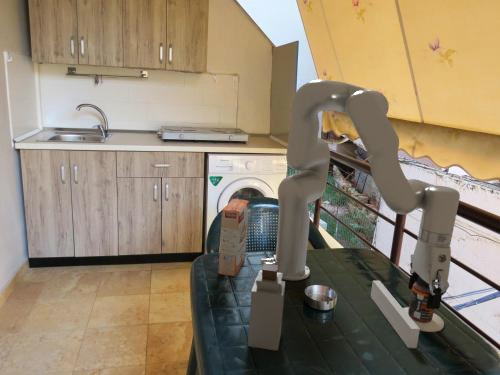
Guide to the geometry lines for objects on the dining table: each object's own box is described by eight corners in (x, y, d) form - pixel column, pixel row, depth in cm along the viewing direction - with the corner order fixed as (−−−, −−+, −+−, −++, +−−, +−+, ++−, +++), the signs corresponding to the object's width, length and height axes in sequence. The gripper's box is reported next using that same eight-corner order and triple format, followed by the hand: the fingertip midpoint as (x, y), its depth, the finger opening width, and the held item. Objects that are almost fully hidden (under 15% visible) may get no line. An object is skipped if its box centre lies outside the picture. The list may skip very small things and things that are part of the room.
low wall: (408, 348, 95) (411, 328, 94) (370, 296, 118) (372, 280, 117) (416, 348, 95) (419, 328, 94) (377, 296, 118) (379, 280, 117)
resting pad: (409, 331, 101) (410, 330, 101) (391, 308, 112) (391, 306, 112) (452, 332, 102) (452, 330, 102) (430, 308, 113) (430, 307, 113)
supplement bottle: (420, 325, 103) (427, 284, 101) (402, 313, 109) (409, 274, 106) (437, 321, 106) (444, 281, 103) (419, 309, 111) (426, 271, 108)
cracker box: (236, 277, 125) (240, 211, 120) (217, 274, 126) (220, 209, 121) (246, 259, 138) (250, 199, 133) (228, 257, 139) (231, 197, 134)
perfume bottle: (277, 350, 91) (284, 275, 87) (247, 345, 92) (252, 271, 88) (280, 333, 97) (286, 263, 93) (252, 329, 98) (257, 259, 94)
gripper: (469, 250, 94) (455, 317, 98) (431, 224, 110) (420, 282, 115) (438, 249, 93) (425, 316, 97) (404, 223, 110) (394, 282, 114)
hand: (422, 298), depth 106 cm, fingers open, 9 cm apart
